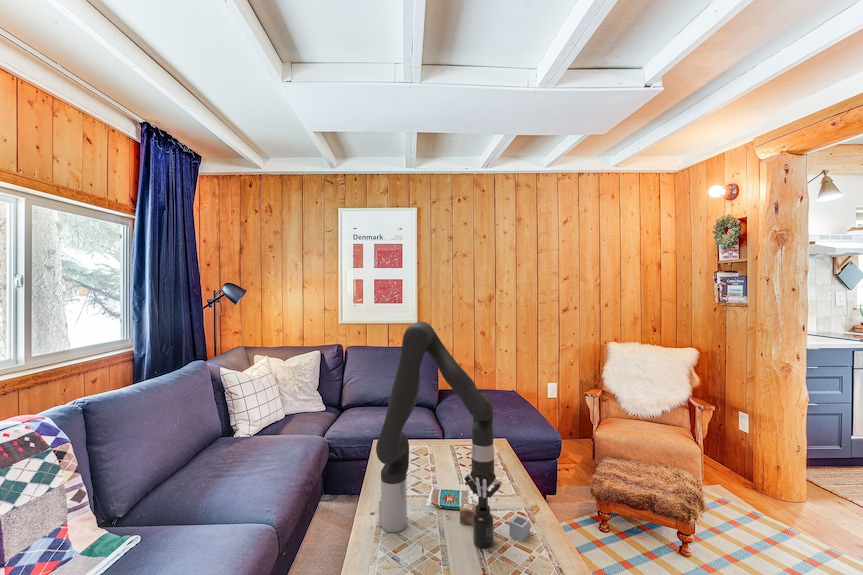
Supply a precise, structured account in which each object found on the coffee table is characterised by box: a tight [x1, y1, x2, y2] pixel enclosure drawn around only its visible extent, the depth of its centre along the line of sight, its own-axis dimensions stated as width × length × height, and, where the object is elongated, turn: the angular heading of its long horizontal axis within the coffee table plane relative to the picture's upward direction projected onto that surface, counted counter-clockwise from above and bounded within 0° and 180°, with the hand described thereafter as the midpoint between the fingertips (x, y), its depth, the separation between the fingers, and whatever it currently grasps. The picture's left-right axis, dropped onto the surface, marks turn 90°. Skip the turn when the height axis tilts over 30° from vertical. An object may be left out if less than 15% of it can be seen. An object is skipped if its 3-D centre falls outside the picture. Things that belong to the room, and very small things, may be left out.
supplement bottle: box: [472, 504, 495, 549], centre depth 134 cm, size 7×7×12 cm
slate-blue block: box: [509, 514, 531, 543], centre depth 137 cm, size 5×5×5 cm
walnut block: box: [459, 502, 477, 526], centre depth 146 cm, size 5×5×5 cm
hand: (483, 506), depth 133 cm, fingers closed
